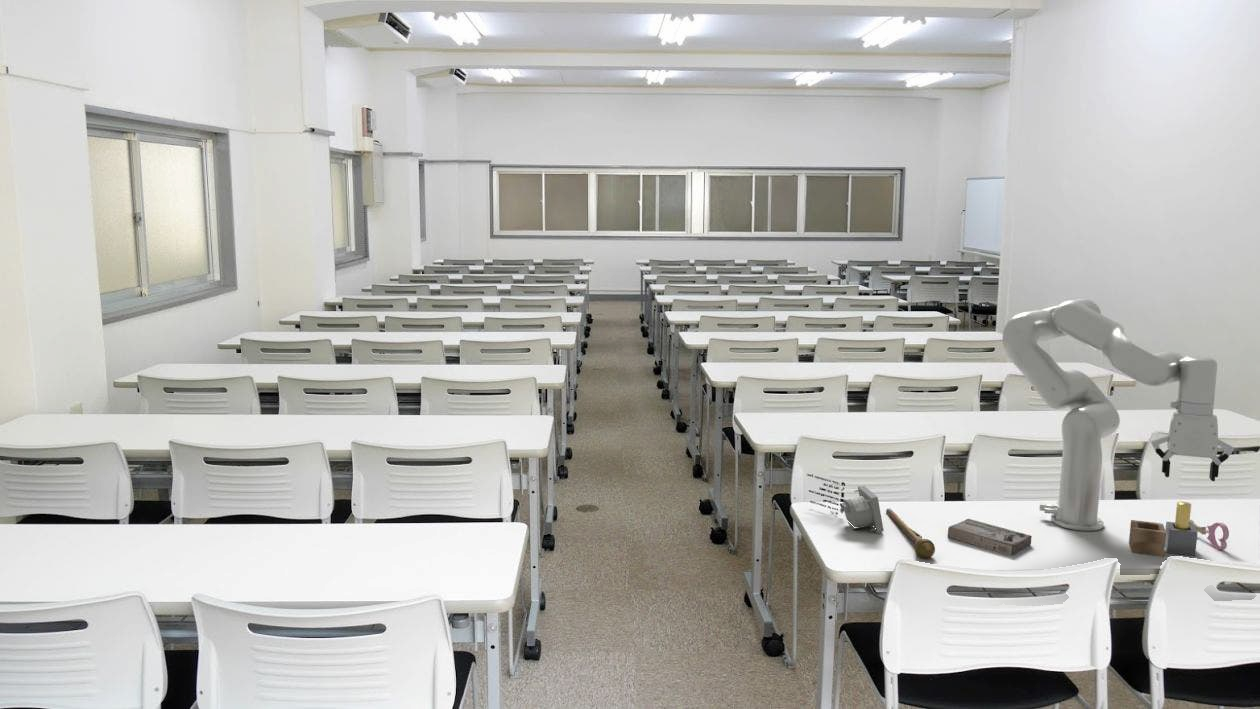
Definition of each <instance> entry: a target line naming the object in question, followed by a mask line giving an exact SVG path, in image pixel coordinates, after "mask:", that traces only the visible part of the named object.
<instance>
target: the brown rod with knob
mask: <svg viewBox="0 0 1260 709" xmlns="http://www.w3.org/2000/svg"><path fill="white" fill-rule="evenodd" d="M885 512H886V514H887V515H888V516H889V517H890V518H891V519H892V520H893V521H894V523H896V525H898V527H899V528H901V530H902V531H903V532H904V533H905V534H906V535H907V536H908V537H909V538H910V539H911V541H913V543H914V551H915V555H916V556H917V557H919V558H921V559H931V557H933V555H934V554H935V552H936V547H935V544H934V543H933V542H932V540H930V539H927V538H923V536H922V535H921V534H919V533H918V532H916V531H915V530H913V529H912V528H911V527H909V526H908V525H907V524H906V523H905V522H904V521H903V520H902V519H901V518H900V517H899V516H898V515H897V514H896V513H895V512H894V511H893V510H892V508H887V509H886V510H885Z"/></svg>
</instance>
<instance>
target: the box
mask: <svg viewBox="0 0 1260 709" xmlns="http://www.w3.org/2000/svg"><path fill="white" fill-rule="evenodd" d="M947 538H950V539H953V540H956V541H960V542H963V543H967V544H969V545H970V544H971V545H973V546H974V545H975V546H977V547H981V548H984V549H987V550H991V551H992V552H993V551H994V552H997V553H1000V554H1003V555H1008V556H1010V557H1012V556H1014V555H1016V554H1017V553H1019V552H1021V551H1023V550H1025V549H1026V548H1027V547H1030V546H1031V545H1032V538H1033V537H1032V535H1030V534H1026V533H1023V532H1019V531H1016V530H1012V529H1009V528H1004V527H1000V526H996V525H993V524H989V523H986V522H982V521H979V520H975V519H972V518H967V519H964V520H962V521H959V522H958V523H955V524H953V525H950V526H949V527H948V530H947Z"/></svg>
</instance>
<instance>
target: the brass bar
mask: <svg viewBox="0 0 1260 709" xmlns="http://www.w3.org/2000/svg"><path fill="white" fill-rule="evenodd" d="M1176 503H1177V504H1176V511H1175V521H1174V522H1175V529H1184V530H1189V521H1190V520H1191V511H1192V503H1190V502H1188V501H1187V502H1186V501H1177V502H1176Z"/></svg>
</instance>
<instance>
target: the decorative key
mask: <svg viewBox="0 0 1260 709" xmlns="http://www.w3.org/2000/svg"><path fill="white" fill-rule="evenodd" d="M1174 523H1175V521H1174ZM1189 524H1191V525H1194V526H1195V528H1196V530H1197V532H1198V533H1200V534H1201V535H1207V534H1208V535H1207V537H1206V539H1207V540H1208V541H1209V542H1210V544H1211V545H1212V547H1213V548H1214V549H1216V550H1218V551H1220V550H1221V551H1224V550H1226V549H1227V547H1228V544H1227V540H1228V539H1229V536H1230V531H1229V527H1228V526H1227V525H1226V524H1225V523H1224V522H1214V523H1213V524H1211V525H1206V526H1199V525H1197V524H1196V523H1195V522H1194V520H1193V519H1190V521H1189ZM1218 527H1220V528H1221V531H1222V537H1221V538H1218V541H1219V542H1220V545H1219V543H1218V542H1217V539H1216V529H1217V528H1218ZM1207 529H1208V530H1207Z"/></svg>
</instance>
